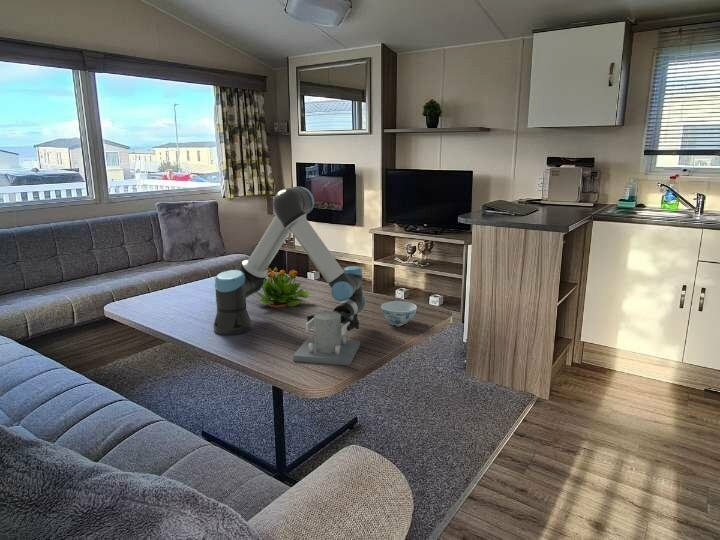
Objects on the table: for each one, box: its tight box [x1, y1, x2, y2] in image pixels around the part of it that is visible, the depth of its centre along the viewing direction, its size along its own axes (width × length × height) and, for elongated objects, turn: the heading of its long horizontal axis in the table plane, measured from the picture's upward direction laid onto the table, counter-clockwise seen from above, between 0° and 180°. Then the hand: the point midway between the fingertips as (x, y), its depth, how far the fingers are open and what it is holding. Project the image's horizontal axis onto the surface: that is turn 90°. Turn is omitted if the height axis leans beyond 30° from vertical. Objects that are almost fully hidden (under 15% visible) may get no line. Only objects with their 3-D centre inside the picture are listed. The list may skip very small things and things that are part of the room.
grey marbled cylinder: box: [313, 310, 342, 353], centre depth 177 cm, size 10×10×12 cm
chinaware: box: [380, 300, 418, 325], centre depth 209 cm, size 15×15×8 cm
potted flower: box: [255, 267, 311, 309], centre depth 234 cm, size 25×24×18 cm
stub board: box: [292, 335, 361, 366], centre depth 178 cm, size 20×18×5 cm
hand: (324, 329), depth 174 cm, fingers open, 13 cm apart
